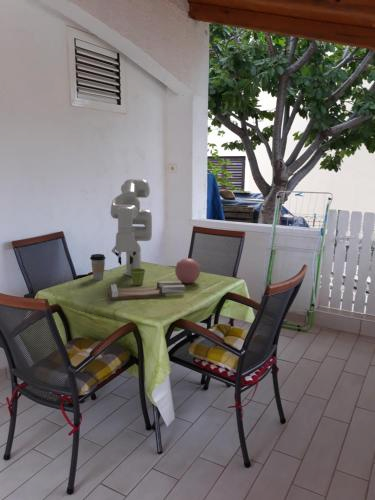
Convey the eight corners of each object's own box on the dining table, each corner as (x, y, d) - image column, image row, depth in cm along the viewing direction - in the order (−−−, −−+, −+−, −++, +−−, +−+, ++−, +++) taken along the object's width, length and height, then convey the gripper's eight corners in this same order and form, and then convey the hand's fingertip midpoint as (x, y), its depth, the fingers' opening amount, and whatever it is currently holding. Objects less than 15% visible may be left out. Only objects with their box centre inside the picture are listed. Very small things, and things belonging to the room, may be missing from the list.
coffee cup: (109, 278, 256) (108, 255, 252) (98, 281, 248) (97, 257, 245) (98, 275, 261) (97, 252, 257) (87, 278, 253) (86, 255, 250)
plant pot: (148, 284, 246) (148, 270, 244) (136, 287, 239) (136, 273, 237) (138, 280, 252) (138, 267, 250) (126, 283, 245) (126, 270, 243)
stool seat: (108, 291, 230) (108, 283, 229) (179, 288, 240) (180, 280, 239) (110, 300, 217) (110, 291, 216) (185, 295, 227) (185, 287, 226)
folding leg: (110, 288, 229) (110, 283, 228) (115, 288, 229) (115, 283, 229) (112, 297, 215) (112, 291, 214) (117, 296, 216) (117, 291, 215)
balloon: (189, 276, 265) (190, 253, 262) (204, 284, 247) (205, 260, 244) (168, 278, 258) (168, 255, 255) (181, 287, 241) (181, 262, 237)
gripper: (140, 229, 218) (140, 261, 222) (108, 229, 213) (109, 262, 217) (142, 231, 210) (142, 265, 214) (109, 232, 206) (109, 266, 210)
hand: (125, 263), depth 216 cm, fingers open, 4 cm apart
